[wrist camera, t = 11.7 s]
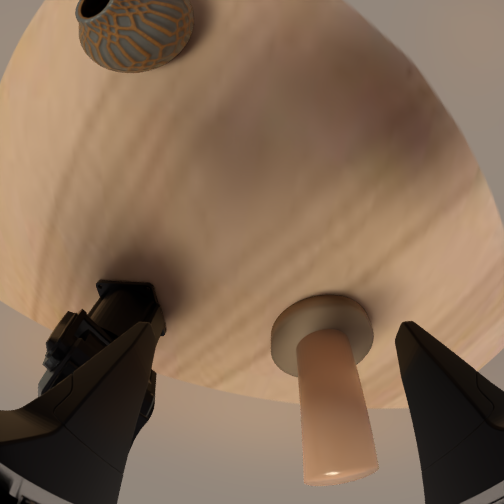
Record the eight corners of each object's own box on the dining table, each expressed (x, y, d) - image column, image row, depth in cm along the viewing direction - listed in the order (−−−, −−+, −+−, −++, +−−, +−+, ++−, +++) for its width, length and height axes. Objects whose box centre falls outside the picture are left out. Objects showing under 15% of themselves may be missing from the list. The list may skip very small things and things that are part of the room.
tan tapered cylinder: (295, 367, 26) (301, 488, 14) (296, 331, 24) (306, 473, 12) (345, 362, 25) (368, 478, 14) (353, 326, 23) (388, 459, 12)
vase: (154, 95, 17) (84, 90, 9) (102, 48, 14) (27, 33, 7) (223, 29, 14) (193, -23, 7) (163, -14, 12) (111, -62, 4)
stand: (270, 366, 29) (270, 380, 27) (271, 295, 24) (272, 309, 22) (356, 362, 28) (360, 375, 27) (378, 292, 24) (385, 306, 22)
